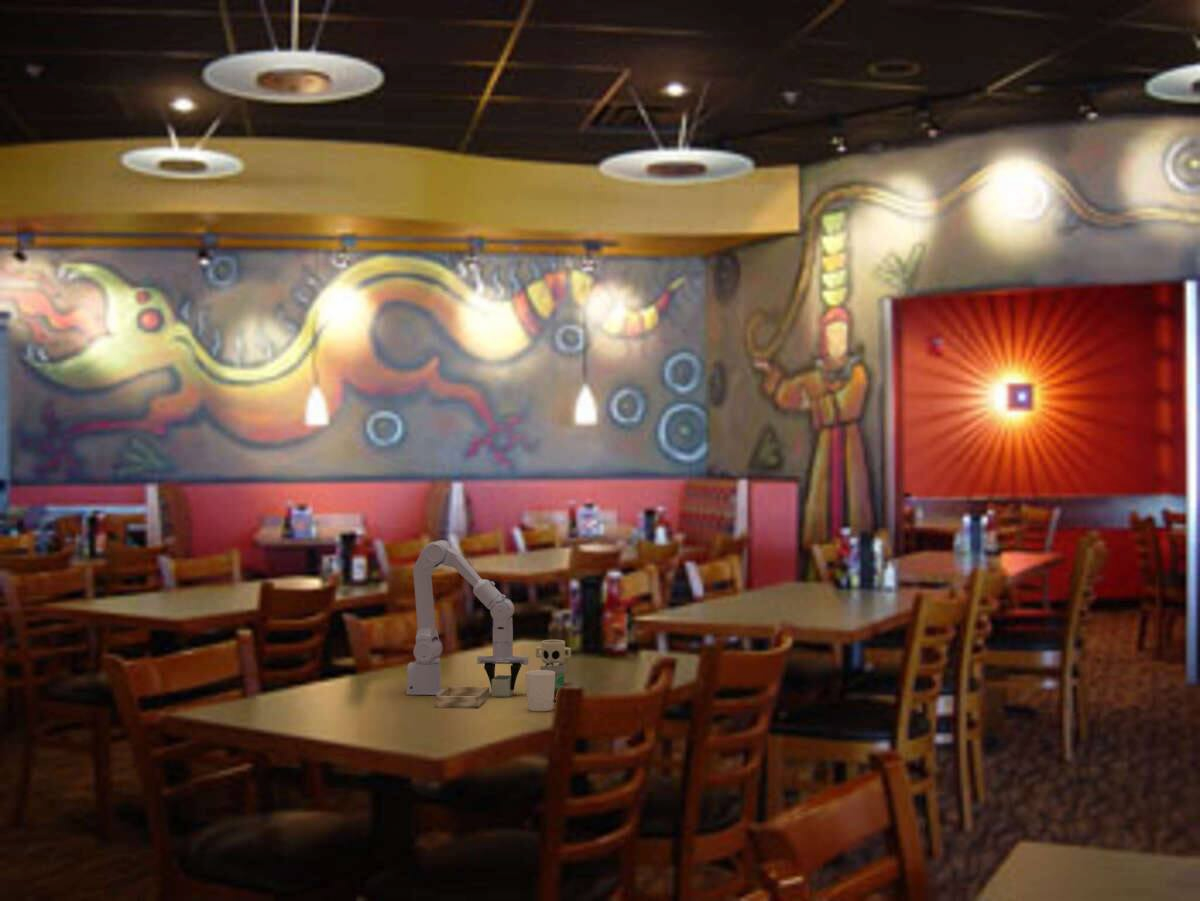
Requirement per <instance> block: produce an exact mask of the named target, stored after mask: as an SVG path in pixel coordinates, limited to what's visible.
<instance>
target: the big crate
mask: <svg viewBox="0 0 1200 901" xmlns="http://www.w3.org/2000/svg"><path fill="white" fill-rule="evenodd" d="M443 689H444V690H443V691H441V692H440V693H439V694H438V695H434V696H435V697H434V699H435V700H434V702H435V704H434V706H435V708H446V707H447V709H448V708H449V709H451V708H453V709H454V708H457V709H479V708H481V707H482V706H483V705H484V704H485V703H486V702H487V701H488V700H489V699H490V687H489V686H484V687H483V686H447V687H445V688H443Z"/></svg>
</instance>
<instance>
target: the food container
mask: <svg viewBox="0 0 1200 901" xmlns="http://www.w3.org/2000/svg"><path fill="white" fill-rule="evenodd" d="M539 668H540V669H539V670H548V671H554V672H555V689H554V700H555V697H556V693H557V690H558V688H560V687H564V686H565V673H566V672H568V669H567V664H566V663H565V661H564V662H561V661H552V660H550V664H549V665H546V664H545V665H543V666H542V665H541V666H540V667H539ZM554 700H553V702H555V701H554Z"/></svg>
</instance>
